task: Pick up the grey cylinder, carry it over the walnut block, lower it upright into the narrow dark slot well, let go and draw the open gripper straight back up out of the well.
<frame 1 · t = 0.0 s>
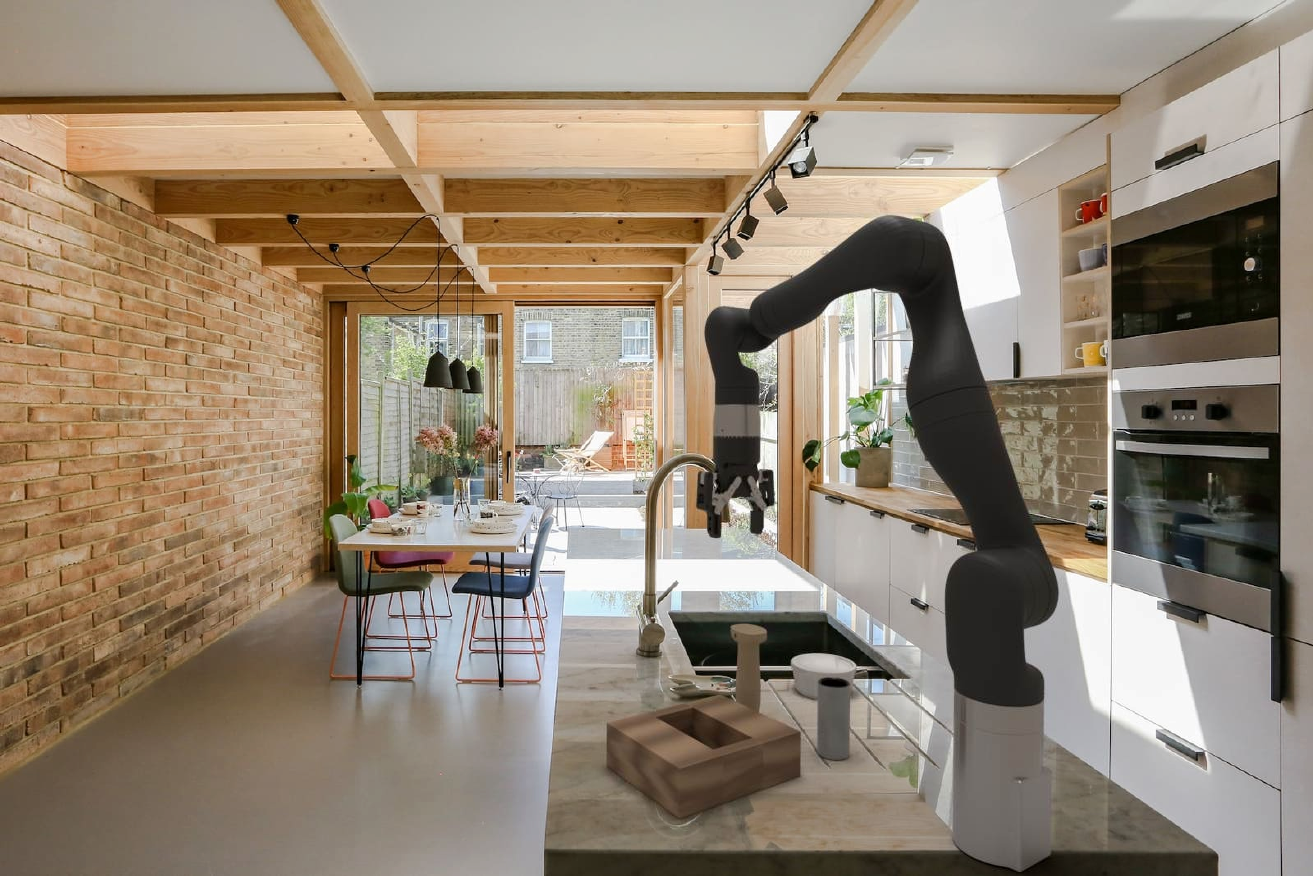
hand: (736, 535, 123), 29 cm above the worktop, tool pointing down, fingers open, 8 cm apart
ramekin: (823, 693, 136), on the worktop
handle: (747, 725, 121), on the worktop
grey cylinder: (833, 755, 110), on the worktop
well block: (702, 771, 105), on the worktop
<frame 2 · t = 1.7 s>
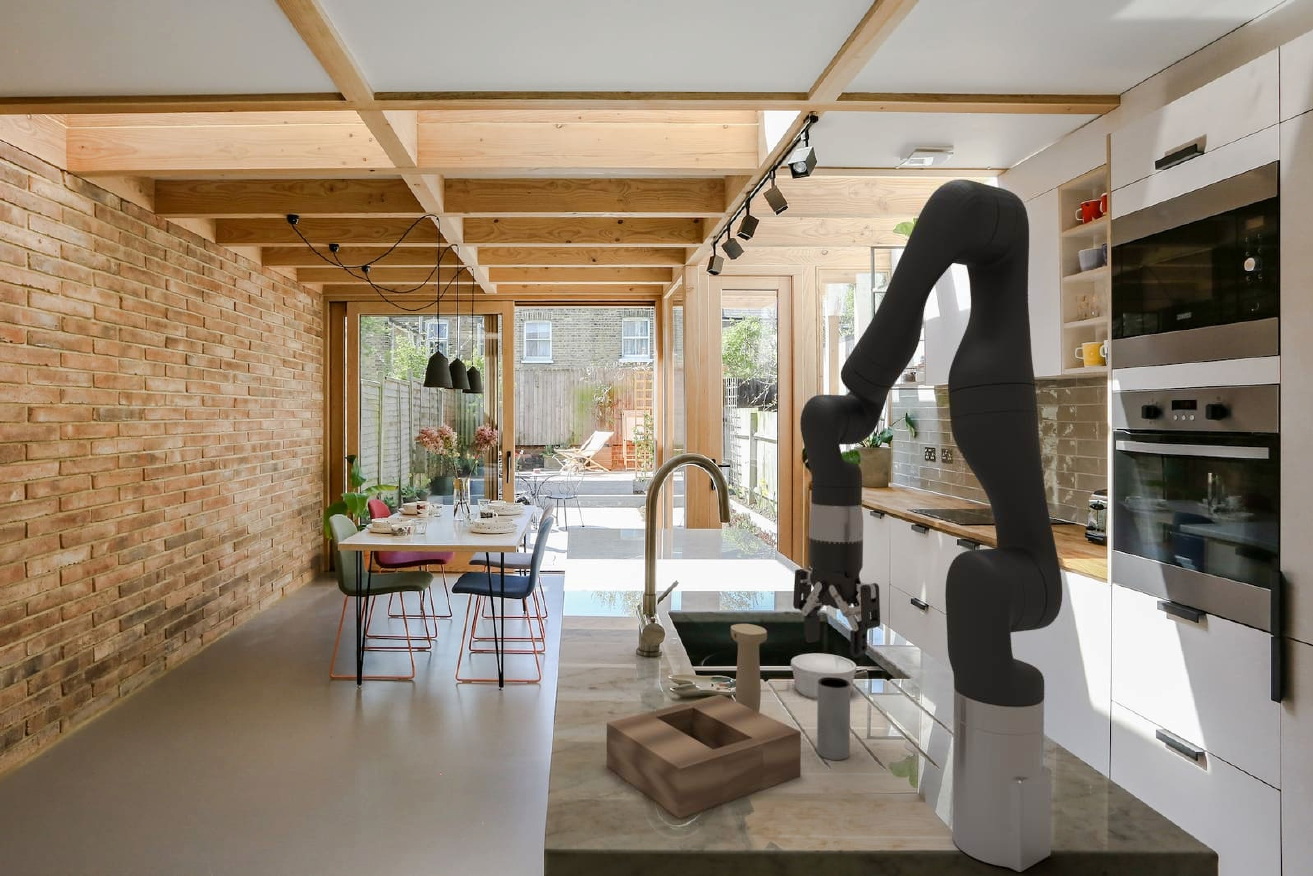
hand: (834, 648, 110), 15 cm above the worktop, tool pointing down, fingers open, 8 cm apart
nothing on the worktop moved.
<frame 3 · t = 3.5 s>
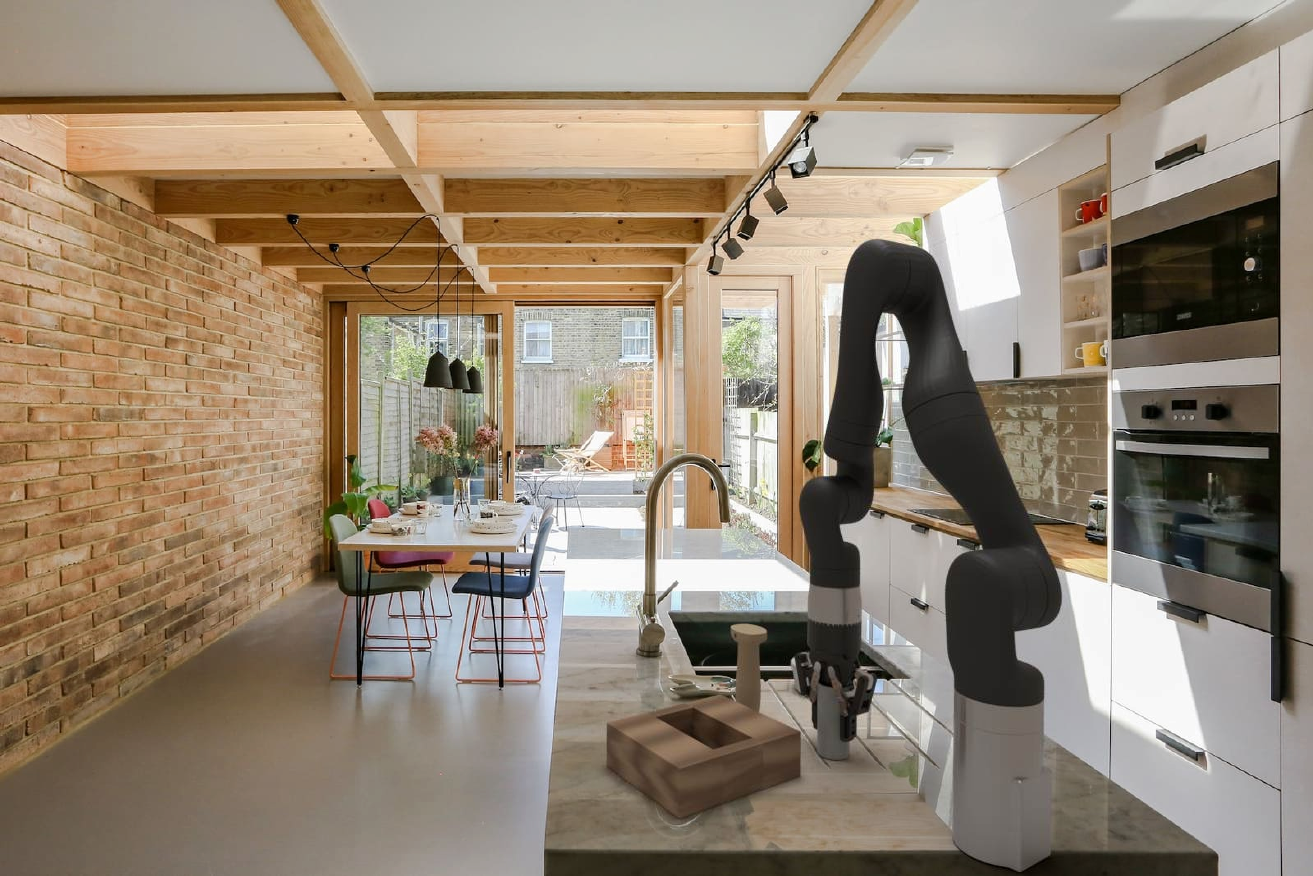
hand: (833, 733, 110), 3 cm above the worktop, tool pointing down, fingers closed on grey cylinder, 4 cm apart
grey cylinder: (833, 755, 110), on the worktop, touching gripper
everything else where it was.
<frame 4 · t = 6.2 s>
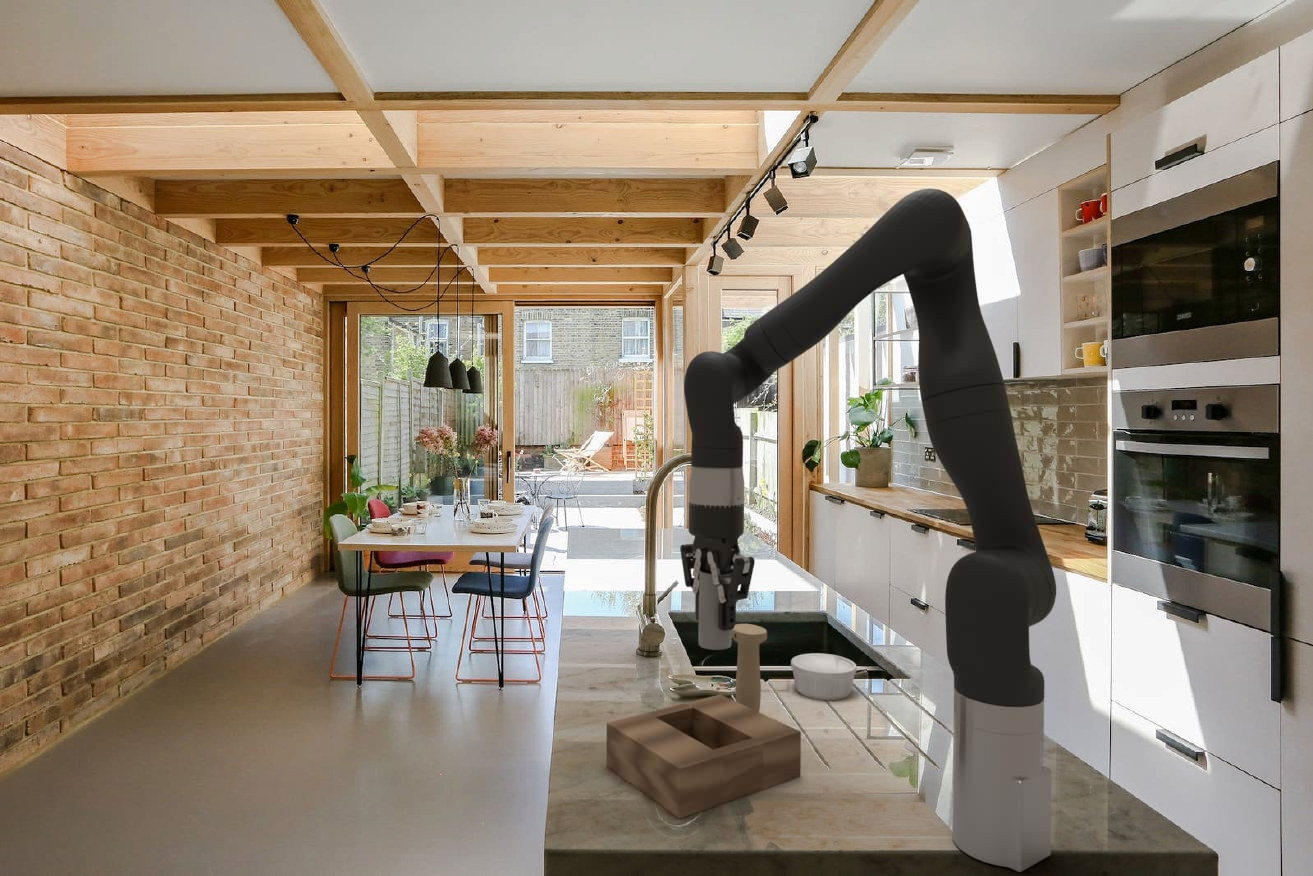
hand: (714, 624, 105), 20 cm above the worktop, tool pointing down, fingers closed on grey cylinder, 4 cm apart
grey cylinder: (714, 646, 106), point 17 cm above the worktop, touching gripper
everything else where it was.
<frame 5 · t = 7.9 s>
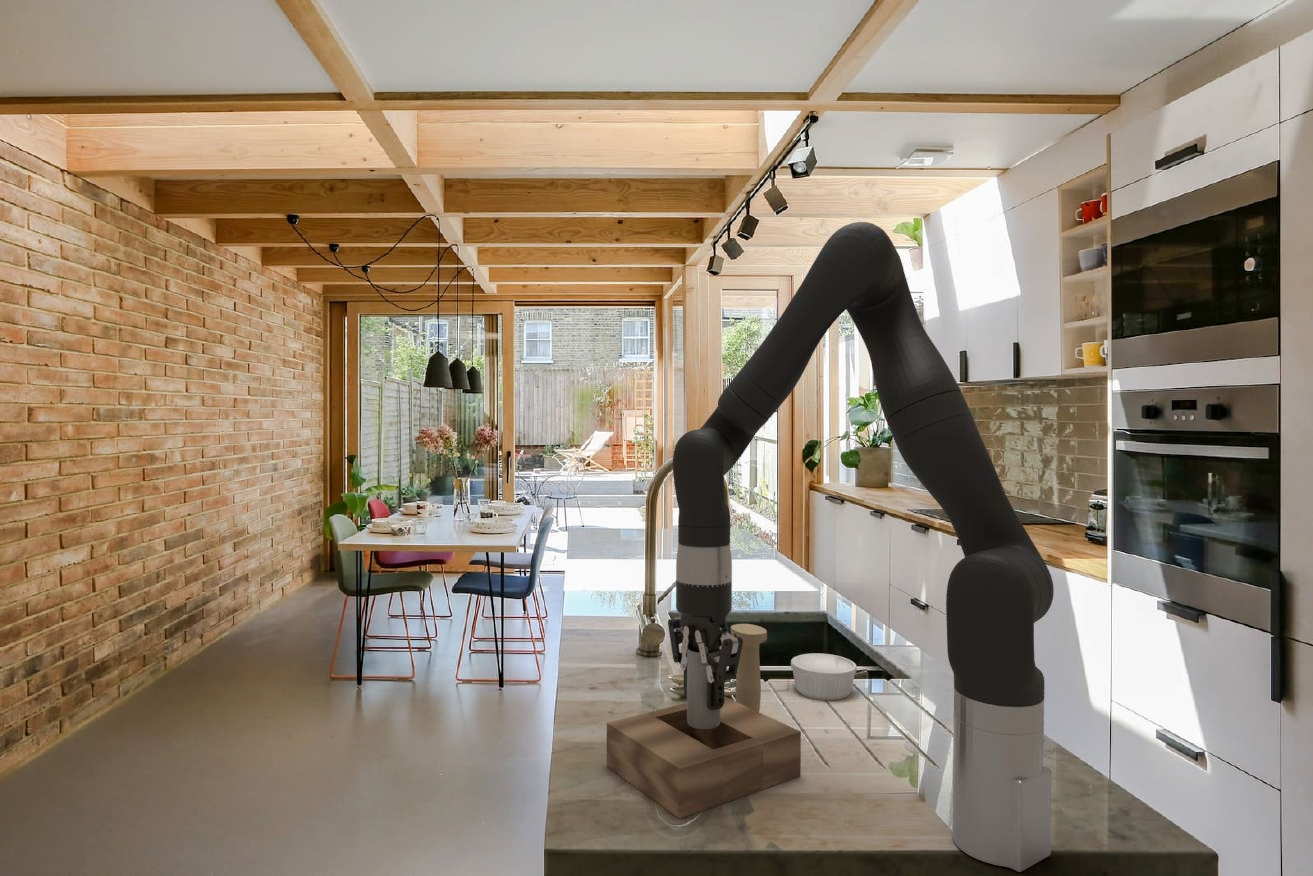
hand: (703, 702, 105), 9 cm above the worktop, tool pointing down, fingers closed on grey cylinder, 4 cm apart
grey cylinder: (703, 724, 105), point 6 cm above the worktop, touching gripper
everything else where it was.
when the fingers open (5 cm above the worktop, at t = 9.2 s): grey cylinder drops 1 cm, resting on well block.
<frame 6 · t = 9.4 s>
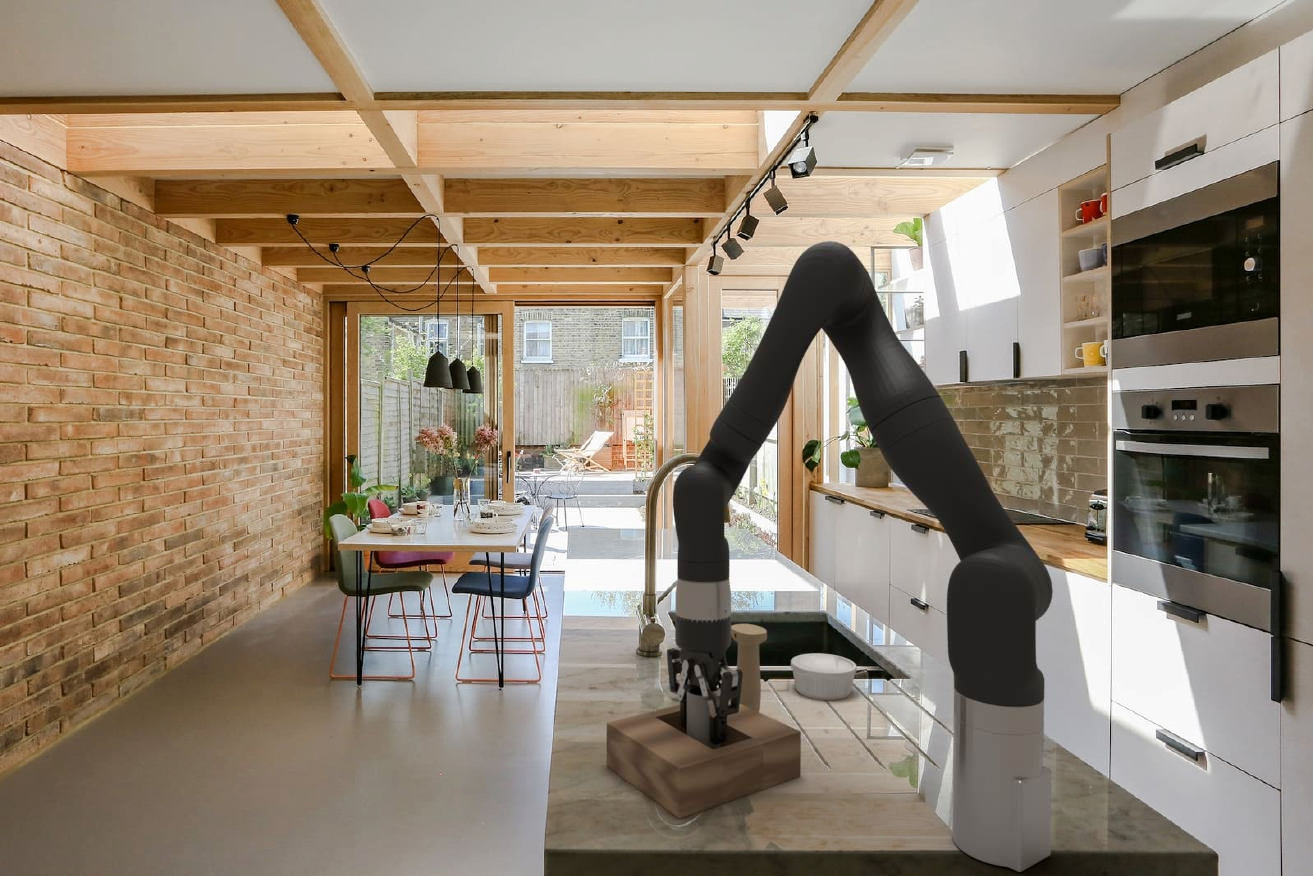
hand: (702, 734, 105), 5 cm above the worktop, tool pointing down, fingers open, 6 cm apart
grey cylinder: (703, 766, 105), point 1 cm above the worktop, touching well block
everything else where it was.
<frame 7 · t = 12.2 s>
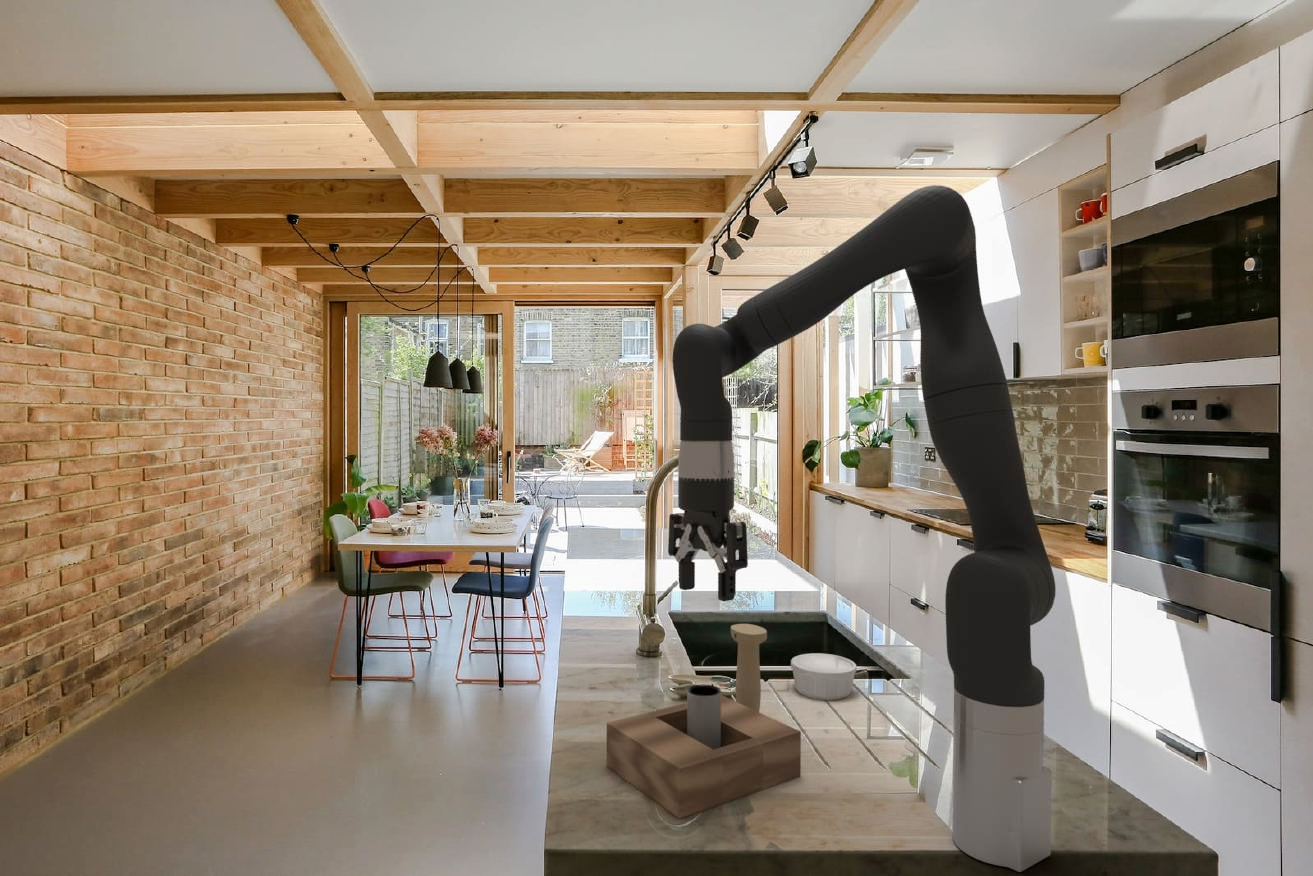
hand: (705, 594, 104), 24 cm above the worktop, tool pointing down, fingers open, 8 cm apart
nothing on the worktop moved.
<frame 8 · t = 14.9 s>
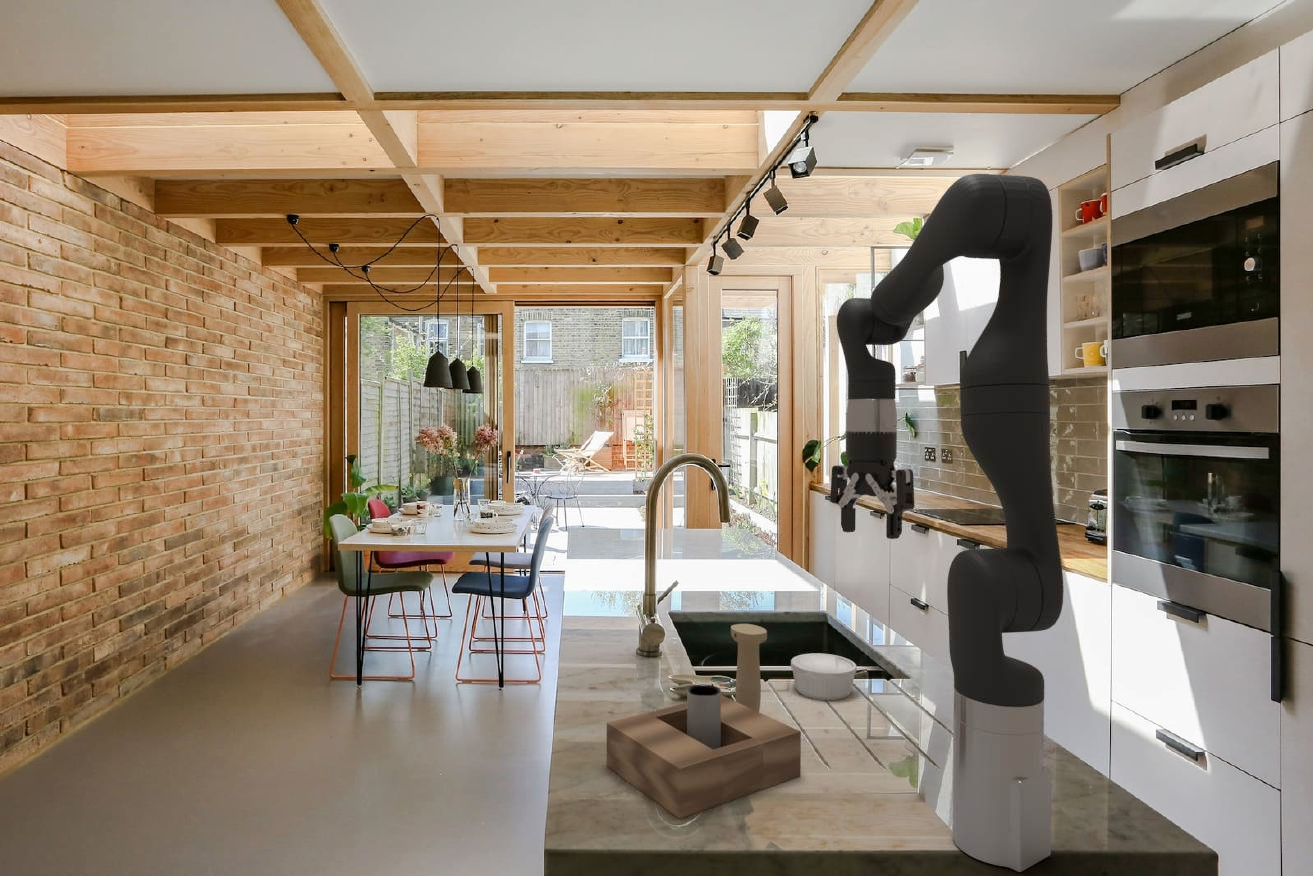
hand: (870, 535, 119), 30 cm above the worktop, tool pointing down, fingers open, 8 cm apart
nothing on the worktop moved.
at the end: grey cylinder inside the target area on the well block (0.2 cm from its centre), point 0.6 cm above the well block's base; grey cylinder tilted 0°; the gripper is holding nothing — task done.
